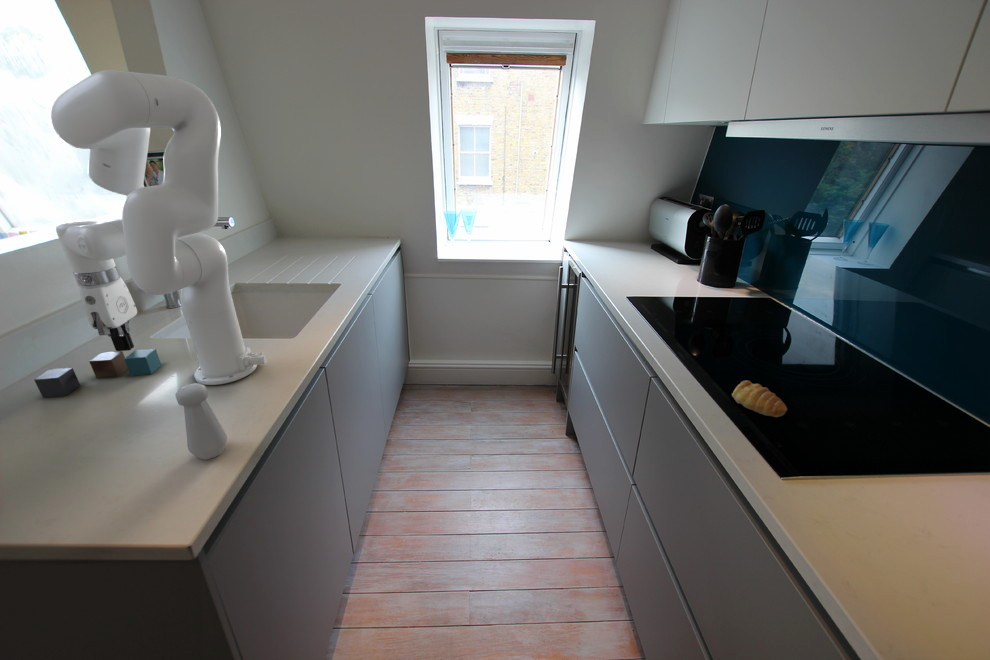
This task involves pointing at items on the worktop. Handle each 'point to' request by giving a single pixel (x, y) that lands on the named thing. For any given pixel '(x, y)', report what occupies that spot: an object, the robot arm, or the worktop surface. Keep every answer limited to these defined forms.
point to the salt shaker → (201, 423)
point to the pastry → (759, 399)
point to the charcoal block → (57, 382)
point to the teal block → (142, 362)
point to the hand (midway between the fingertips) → (125, 349)
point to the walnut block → (109, 364)
